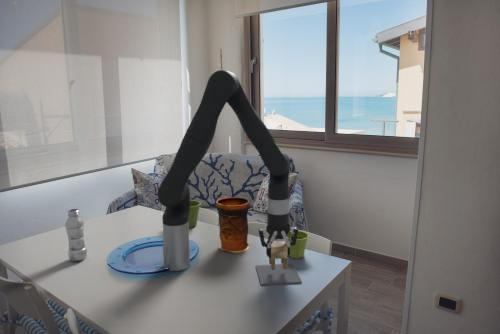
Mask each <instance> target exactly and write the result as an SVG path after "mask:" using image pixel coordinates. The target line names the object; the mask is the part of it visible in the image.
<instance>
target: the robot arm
mask: <svg viewBox="0 0 500 334" xmlns="http://www.w3.org/2000/svg"><path fill="white" fill-rule="evenodd" d="M226 104H227V105H228V106H229V107H230V108H231V109H232V111H233V112H234V114H235V115H236V117H237V119H238V121H239V123H240V126H241V128H242V130H243V132H244V134H245V135H246V137H247V138H248V140H249V141H250V143H251V144H252V145H253V147H254V148H255V150H256V151H257V153H259V154H258V155H259V156H260V158H261V160H262V162H263V164H264V165H265V167H266V169H267V170H268V172H269V180H268V181H269V182H268V185H267V186H268V187H267V192H268V193H267V195H268V196H267V205H266V210H267V213H266V214H267V218H266V221H267V224H266V227H265V228H258V234H259V240H260V244H261V247H263V248H264V247H265V248H266V257H268V259H269V258H271V245H272V243H273V242H275V241H276V240H283V241H285V243H286V245H287V247H288V251H287V258H288V257H289V255H290V246H292V245H295V244H296V239H297V235H298V231H299V229H298V227H297V226H293V227H292V226H291V225H290V200H289V199H290V188H289V187H290V186H289V177H290V157H289V155H287V154H286V153H285V152H284V151H281V149H280V148H279V146H278V145H277V143H276V140H275V138H274V136H273V134H272V133H271V132H270V130H269V128H268V127H267V126H266V124H265V123H264V121H263V120H262V118H261V117H260V116H259V115H258V113H257V112H256V110H255V109H254V107H253V106H252V104H251V102H250V101H249V98H248V96H247V95H246V92H245V90H244V88H243V86H242V84H241V82H240V80H239V78H238V76H237V75H236V74H235V73H234V72H232V71H229V70H224V69H219V70H216V71H214V72H213V73H212V74H211V75H210V76H209V78H208V80H207V82H206V87H205V90H204V91H203V95H202V98H201V100H200V103H199V105H198V108H197V110H196V112H195V114H194V115H193V118H192V119H191V122H190V124H189V125H188V128H187V129H186V131H185V133H184V136H183V137H182V140H181V143H180V146H179V147H178V150H177V152H176V154H175V157H174V160H173V161H172V163H171V166H170V168H169V170H168V172H166V173H167V174H166V175H165V177H164V178H163V180H162V182H161V183H160V185H159V187H158V189H157V199H158V202H159V204H160V205H162V206H163V207H165V210H164V212H163V214H162V216H161V217H162V234H163V235H162V236H163V244H162V251H163V252H162V254H163V256H162V257H163V269H164V268H168V269H169V270H168V271H171V272H181V271H184V270H186V269H189V268H190V267H191V266H190V265H191V257H190V256H191V254H190V253H191V252H190V233H189V232H190V231H189V230H190V228H189V225H188V216H189V212H190V200H191V193H190V192H191V191H190V187H189V184H188V181H189V179H190V176H191V175H192V174H193V172H194V171H195V170H196V168H197V167H198V166H199V165H200V163H201V162H202V160H204V158H205V156H206V154H207V152H209V151H208V150H209V148H210V146H211V145H212V143H213V140H214V137H215V134H216V129H217V125H218V120H219V117H220V116H221V113H222V111H223V109H224V108H225V105H226ZM290 231H291V233H292V237H291V241H288V238H287V234H288V233H289V232H290ZM266 233H268V238H267V240H265V236H266Z"/></svg>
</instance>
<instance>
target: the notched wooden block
mask: <svg viewBox="0 0 500 334" xmlns="http://www.w3.org/2000/svg"><path fill="white" fill-rule="evenodd" d="M287 251H288V247H287V245H286V243H285V241H284V240H283V241H273V243H272V245H271V258H269V257H268V263H269V264H268V265H271V269H272V270H275V264H276V259H277V260H279V259H280V262H281V263H280V264H283V268H284V269H287V264H288V257H287Z"/></svg>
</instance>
